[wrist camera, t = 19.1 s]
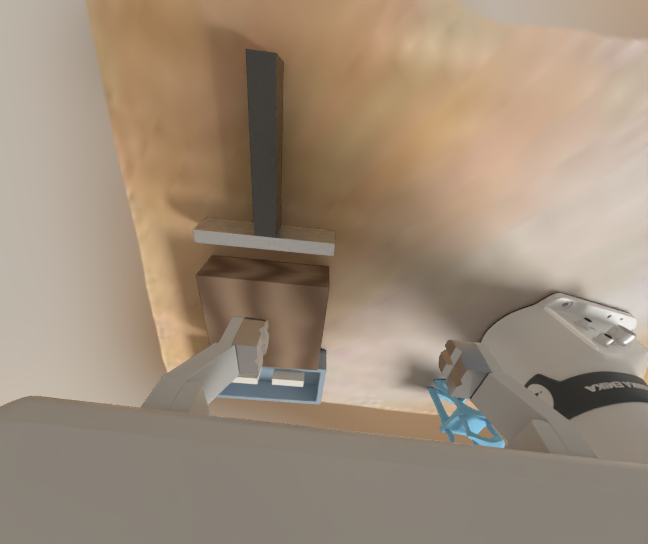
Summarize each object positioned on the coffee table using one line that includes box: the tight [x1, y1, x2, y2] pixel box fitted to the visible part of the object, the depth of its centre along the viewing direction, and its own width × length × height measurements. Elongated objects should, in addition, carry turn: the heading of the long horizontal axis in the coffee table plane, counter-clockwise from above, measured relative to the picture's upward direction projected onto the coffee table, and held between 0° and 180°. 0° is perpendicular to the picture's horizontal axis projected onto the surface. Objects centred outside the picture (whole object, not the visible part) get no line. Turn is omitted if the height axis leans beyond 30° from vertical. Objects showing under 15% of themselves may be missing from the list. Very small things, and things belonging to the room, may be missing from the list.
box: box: [216, 350, 326, 404], centre depth 44 cm, size 19×10×4 cm, turn 84°
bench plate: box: [196, 255, 329, 371], centre depth 36 cm, size 16×16×5 cm
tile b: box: [232, 368, 262, 384], centre depth 42 cm, size 5×5×2 cm
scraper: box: [193, 49, 335, 256], centre depth 26 cm, size 18×16×4 cm
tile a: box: [272, 369, 305, 387], centre depth 42 cm, size 5×5×2 cm
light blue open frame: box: [428, 380, 505, 448], centre depth 44 cm, size 8×8×12 cm
